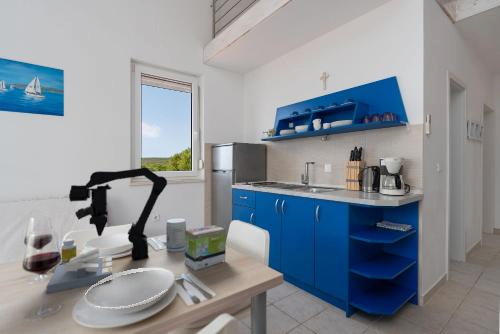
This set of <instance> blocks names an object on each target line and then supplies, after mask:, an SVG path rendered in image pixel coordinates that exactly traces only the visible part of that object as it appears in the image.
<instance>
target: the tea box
mask: <svg viewBox="0 0 500 334" xmlns="http://www.w3.org/2000/svg"><path fill="white" fill-rule="evenodd" d="M226 231H227V230H226V228H223V227H220V226H218V225H214V224H213V225H207V226H201V227H196V228H191V229H186V230H185V249H184V264H185V265H186V266H188V267H190V269H192V270H194V271H198V270H201V269H204V268H207V267H211V266H214V264H215V265H218V264H221V263H220V262H222V263H224V262H223V261H225V262H226V249H227V248H226V245H227V244H226V240H227V239H226V238H227V237H226V235H227V232H226ZM217 263H218V264H217Z"/></svg>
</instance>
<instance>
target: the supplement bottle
mask: <svg viewBox="0 0 500 334" xmlns="http://www.w3.org/2000/svg"><path fill="white" fill-rule="evenodd" d="M62 244H63V245H62V246H61V247H60V248H61V251H60V252H61V255H62V258H61V259H62V261H61V265H63V264H67V263H69V262H70V259H71V258H74V257H76V256H78V255H77V244H76V243H75V238H66V239H63V240H62Z"/></svg>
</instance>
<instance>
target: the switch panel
mask: <svg viewBox="0 0 500 334" xmlns="http://www.w3.org/2000/svg"><path fill="white" fill-rule="evenodd" d="M85 258H86V257H85ZM81 259H82V258H81ZM84 263H87V262H84ZM92 264H99V265H98V270H97V272H95V271H86V268H81V269H78V270H77V271H64V270H65V267H66V264H59V265H57V266H56V268H55V270H54V272H53V274H52V275H51V278H50V279H49V281H48V283H47V286H46V293H47V294H51V293H55V292H62V291H64V290H65V291H66V290H70V289H75V288H81V287H84V286H89V285H94V284H97V283H96V282H98V281H100V280H102V279H104V278H106V277H108V276H110V275H112V276H113V256H105V257H101V258H100V257H99V260H98V261H95V262H92Z"/></svg>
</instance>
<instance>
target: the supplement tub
mask: <svg viewBox="0 0 500 334" xmlns="http://www.w3.org/2000/svg"><path fill="white" fill-rule="evenodd" d="M186 222H187V221H186V219H185V218H180V217H177V218H170V219H168V220H166V233H165V235H166V239H165V240H166V241H165V242H166V244H165V245H166V246H165V247H166V251H168V252H171V253H178V252H181V251H185V230H187V223H186Z"/></svg>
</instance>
